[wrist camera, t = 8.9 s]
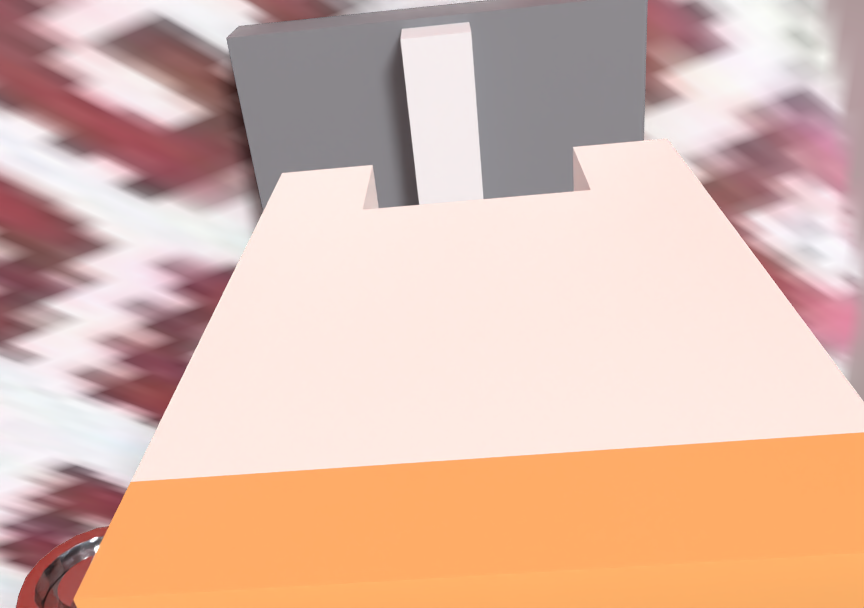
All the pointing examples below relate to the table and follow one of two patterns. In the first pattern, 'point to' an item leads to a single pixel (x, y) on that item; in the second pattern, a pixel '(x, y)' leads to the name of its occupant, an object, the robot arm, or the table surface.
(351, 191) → the block
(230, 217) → the table surface
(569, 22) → the rail board
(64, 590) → the robot arm
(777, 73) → the table surface
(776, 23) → the table surface
